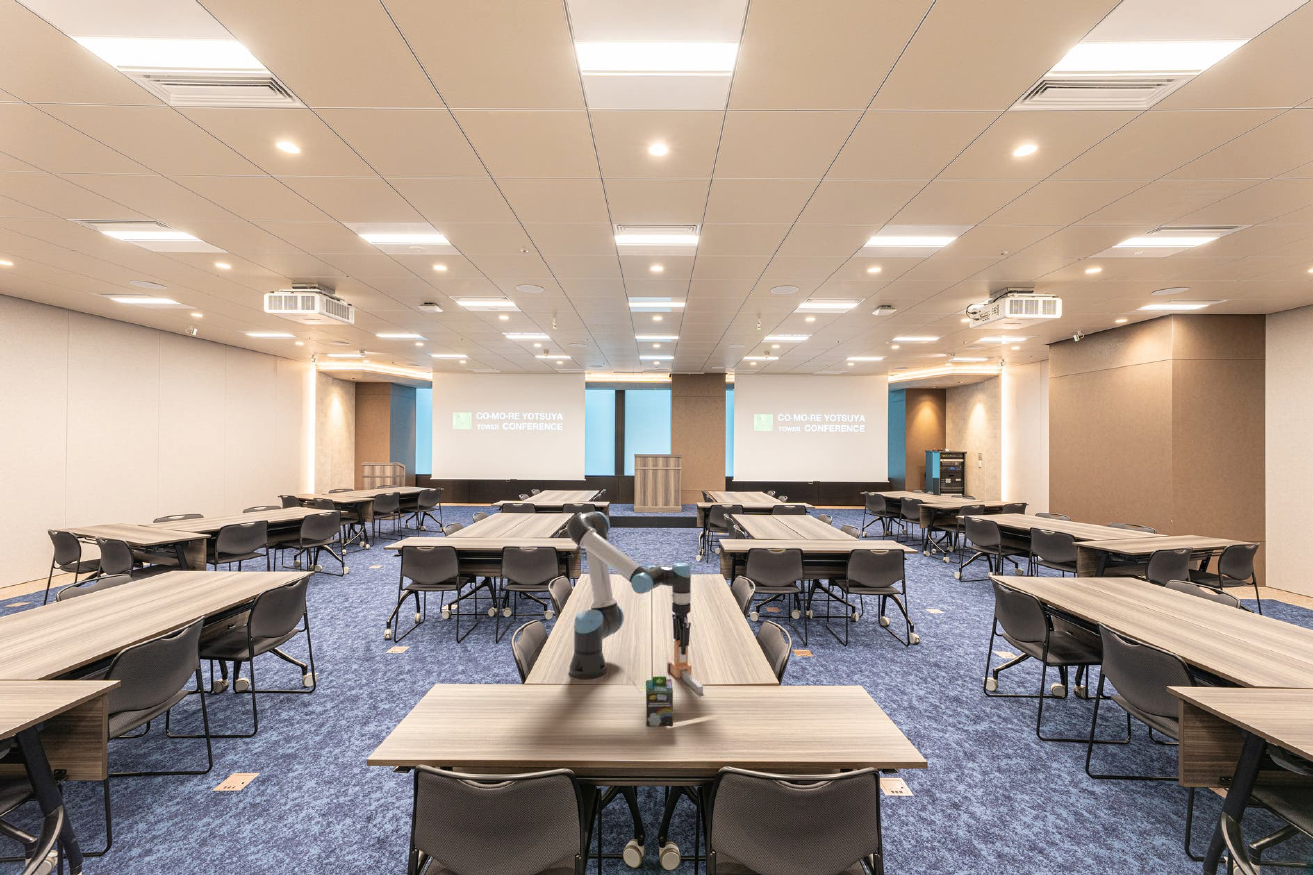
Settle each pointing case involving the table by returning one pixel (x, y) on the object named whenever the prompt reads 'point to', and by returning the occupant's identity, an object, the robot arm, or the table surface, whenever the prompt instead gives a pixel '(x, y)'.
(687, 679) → the rail
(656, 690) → the chalk box
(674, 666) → the slider
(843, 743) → the table surface
